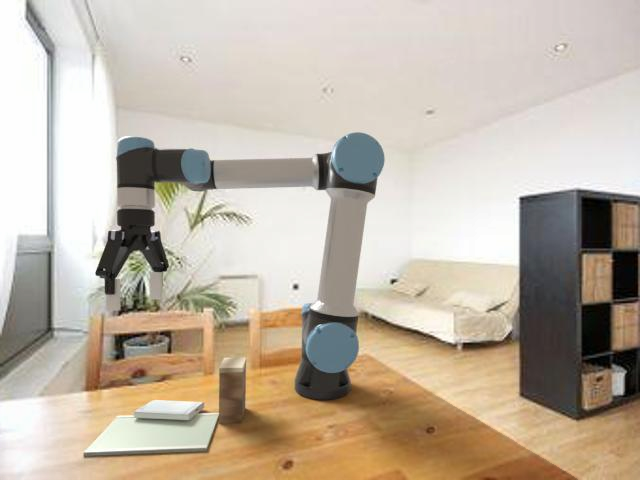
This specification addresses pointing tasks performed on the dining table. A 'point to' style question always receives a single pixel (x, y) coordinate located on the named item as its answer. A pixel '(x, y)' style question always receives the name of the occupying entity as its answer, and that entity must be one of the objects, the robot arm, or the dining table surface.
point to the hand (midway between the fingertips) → (136, 304)
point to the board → (154, 435)
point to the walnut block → (232, 390)
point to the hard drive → (169, 410)
